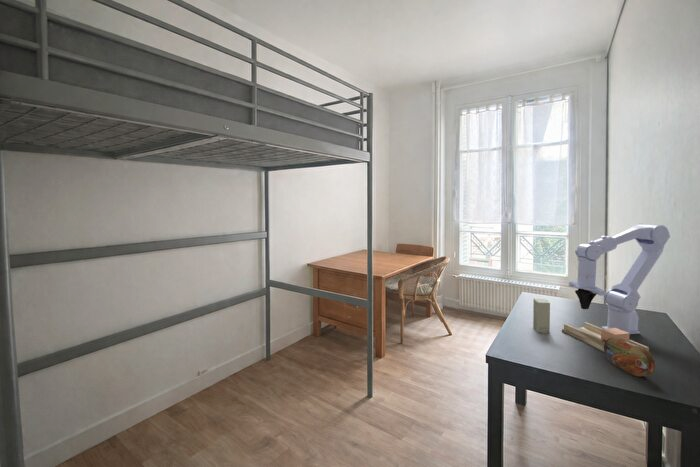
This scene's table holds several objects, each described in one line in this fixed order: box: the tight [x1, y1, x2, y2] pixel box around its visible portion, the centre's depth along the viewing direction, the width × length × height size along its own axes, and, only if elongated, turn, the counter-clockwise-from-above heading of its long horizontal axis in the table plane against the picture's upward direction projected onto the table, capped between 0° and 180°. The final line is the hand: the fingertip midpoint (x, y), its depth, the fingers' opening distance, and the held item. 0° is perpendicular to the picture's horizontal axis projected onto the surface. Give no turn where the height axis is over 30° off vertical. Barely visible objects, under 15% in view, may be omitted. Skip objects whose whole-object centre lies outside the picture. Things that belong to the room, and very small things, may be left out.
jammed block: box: [601, 328, 631, 342], centre depth 118 cm, size 6×5×5 cm
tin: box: [603, 338, 656, 377], centre depth 103 cm, size 15×3×8 cm, turn 5°
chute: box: [561, 321, 652, 355], centre depth 122 cm, size 12×24×3 cm, turn 10°
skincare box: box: [532, 298, 551, 334], centre depth 135 cm, size 6×4×12 cm
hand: (584, 308), depth 132 cm, fingers closed
